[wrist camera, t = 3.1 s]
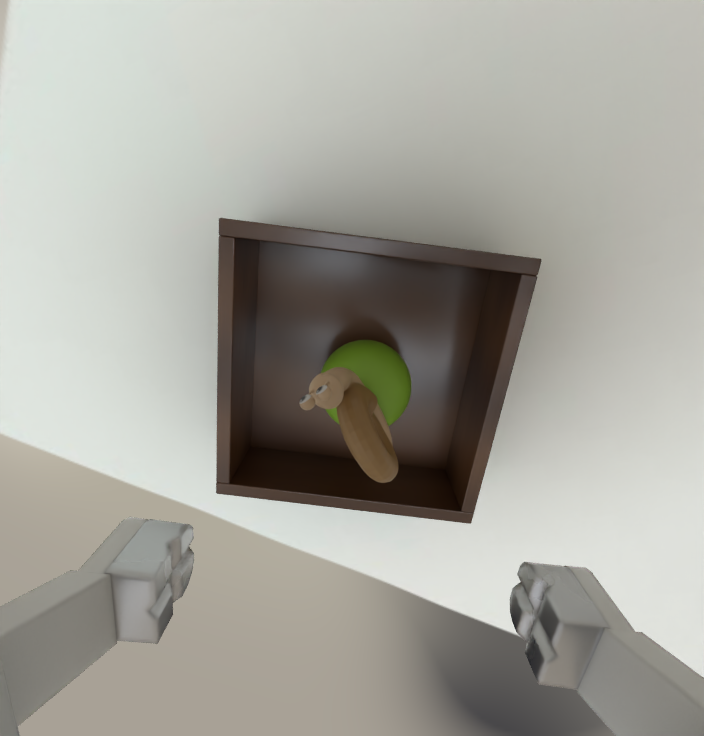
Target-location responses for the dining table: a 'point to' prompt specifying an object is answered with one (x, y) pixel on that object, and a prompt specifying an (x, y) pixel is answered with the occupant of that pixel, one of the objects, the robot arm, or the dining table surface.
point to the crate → (351, 323)
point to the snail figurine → (364, 401)
